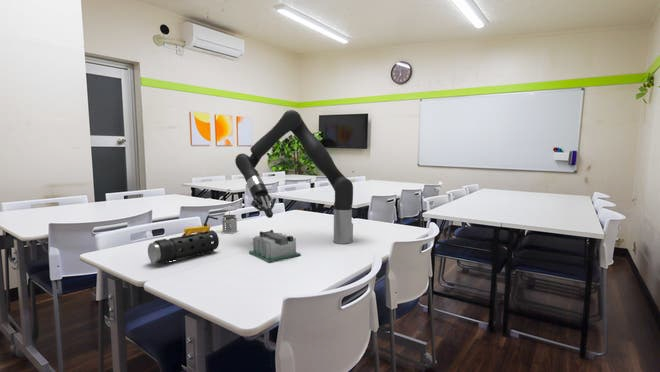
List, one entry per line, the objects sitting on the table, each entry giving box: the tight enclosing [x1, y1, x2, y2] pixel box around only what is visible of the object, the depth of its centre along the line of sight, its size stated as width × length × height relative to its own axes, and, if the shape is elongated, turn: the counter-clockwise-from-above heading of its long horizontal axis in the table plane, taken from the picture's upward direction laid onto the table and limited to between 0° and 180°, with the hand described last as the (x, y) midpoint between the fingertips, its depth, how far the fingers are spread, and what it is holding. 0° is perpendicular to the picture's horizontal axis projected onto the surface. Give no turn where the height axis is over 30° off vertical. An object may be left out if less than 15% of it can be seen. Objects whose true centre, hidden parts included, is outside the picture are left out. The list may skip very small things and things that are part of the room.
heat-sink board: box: [248, 229, 302, 264], centre depth 159 cm, size 16×18×10 cm
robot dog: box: [181, 215, 219, 236], centre depth 179 cm, size 6×18×13 cm, turn 127°
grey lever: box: [262, 230, 288, 246], centre depth 159 cm, size 4×16×3 cm, turn 40°
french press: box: [219, 188, 239, 235], centre depth 201 cm, size 10×12×25 cm
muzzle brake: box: [147, 229, 220, 265], centre depth 153 cm, size 10×28×10 cm, turn 142°
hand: (270, 216), depth 160 cm, fingers closed
